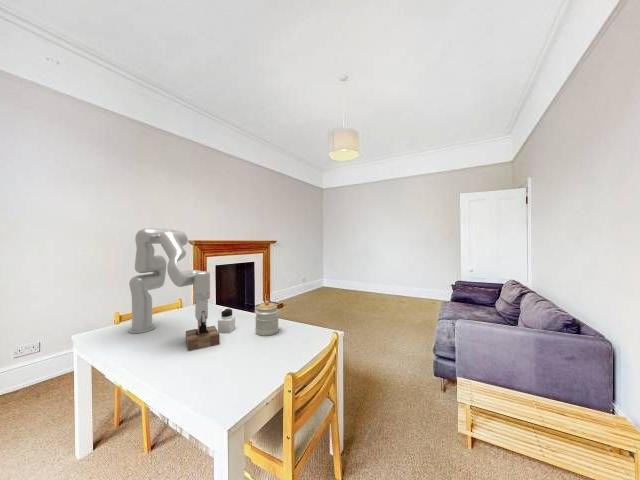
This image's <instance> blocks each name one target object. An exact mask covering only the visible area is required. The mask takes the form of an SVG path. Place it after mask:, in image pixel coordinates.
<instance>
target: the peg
mask: <svg viewBox="0 0 640 480" xmlns="http://www.w3.org/2000/svg"><path fill="white" fill-rule="evenodd" d="M201 319H202V318H201ZM199 326H200V320H197V329H198V335H202V334H206V333H202V334H199Z"/></svg>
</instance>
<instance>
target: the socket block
mask: <svg viewBox="0 0 640 480" xmlns="http://www.w3.org/2000/svg"><path fill="white" fill-rule="evenodd" d="M220 340H221V339H220V332H218V328H217V327H216V326H215V325H211V326H206V334H202V335H198V328H193V329H188V330H185V344H186V348H187V351H188V352H191V351H194V350H195V351H196V350H200V349H203V348H208V347H213V346H217V345H220V344H221V343H220Z"/></svg>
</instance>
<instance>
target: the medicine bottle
mask: <svg viewBox="0 0 640 480" xmlns="http://www.w3.org/2000/svg"><path fill="white" fill-rule="evenodd" d="M235 329H236V316H233V309H232V308H224V309H222V310H221V311H220V318H219V319H218V320H217V331H218V333H224V334H225V333H227V334H229V333H231V332H233V331H234V330H235Z"/></svg>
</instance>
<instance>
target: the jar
mask: <svg viewBox="0 0 640 480" xmlns="http://www.w3.org/2000/svg"><path fill="white" fill-rule="evenodd" d="M254 312H255V317H254V319H255V328H254V329H255V331H254V332H255V334H256V335H259V336H264V337H265V336H273V335H275V334H277V333H278V332H279V328H280V326H279V314H278V313H279V308H278V305H276V304H275V303H273V302H270V300H265V301H264V302H263V303H260V304H259V305H257V306H256V310H255V311H254Z"/></svg>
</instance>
